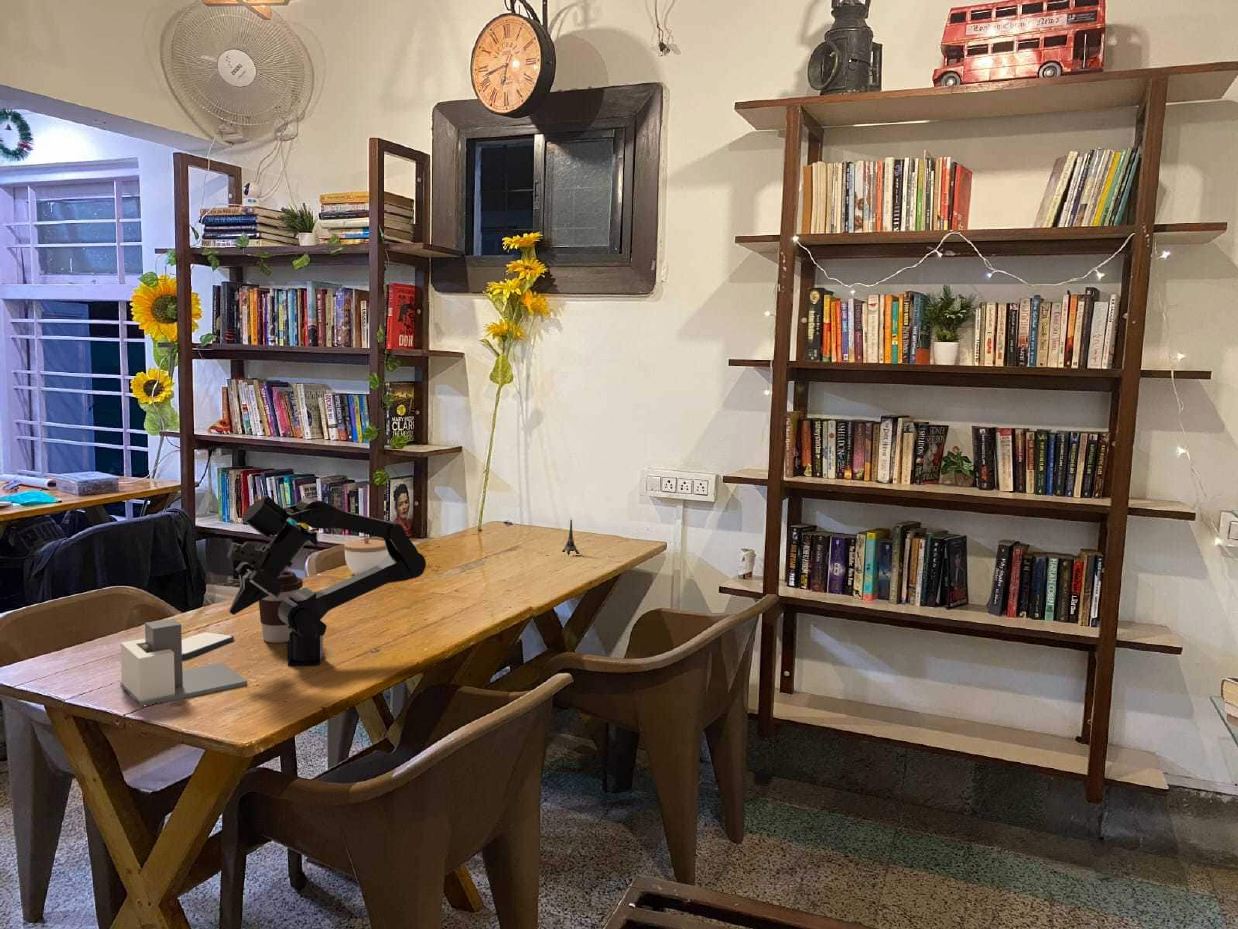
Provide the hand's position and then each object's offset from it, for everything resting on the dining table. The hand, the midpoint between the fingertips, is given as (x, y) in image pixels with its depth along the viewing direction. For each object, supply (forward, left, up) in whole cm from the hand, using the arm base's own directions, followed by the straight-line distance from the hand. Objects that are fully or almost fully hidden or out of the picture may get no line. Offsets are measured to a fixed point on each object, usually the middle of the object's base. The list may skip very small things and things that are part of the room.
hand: (231, 613), depth 188 cm
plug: (+10, +8, -12) cm, 18 cm away
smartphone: (+13, -18, -13) cm, 26 cm away
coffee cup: (-4, -24, -13) cm, 27 cm away
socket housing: (+7, +6, -12) cm, 16 cm away
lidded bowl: (-14, -88, -13) cm, 90 cm away
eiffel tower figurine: (-76, -116, -13) cm, 139 cm away
